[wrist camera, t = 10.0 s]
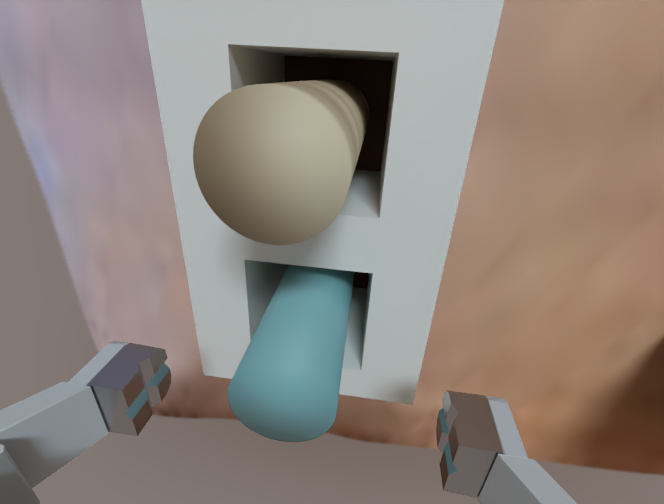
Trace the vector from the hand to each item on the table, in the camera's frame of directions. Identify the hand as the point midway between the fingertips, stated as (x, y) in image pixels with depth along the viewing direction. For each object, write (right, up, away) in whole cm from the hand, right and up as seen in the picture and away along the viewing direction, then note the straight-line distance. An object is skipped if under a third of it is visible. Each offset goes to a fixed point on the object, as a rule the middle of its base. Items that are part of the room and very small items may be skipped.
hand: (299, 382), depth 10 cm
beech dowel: (+1, +10, +5) cm, 11 cm away
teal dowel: (+1, +4, +8) cm, 9 cm away
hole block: (+1, +7, +7) cm, 10 cm away
